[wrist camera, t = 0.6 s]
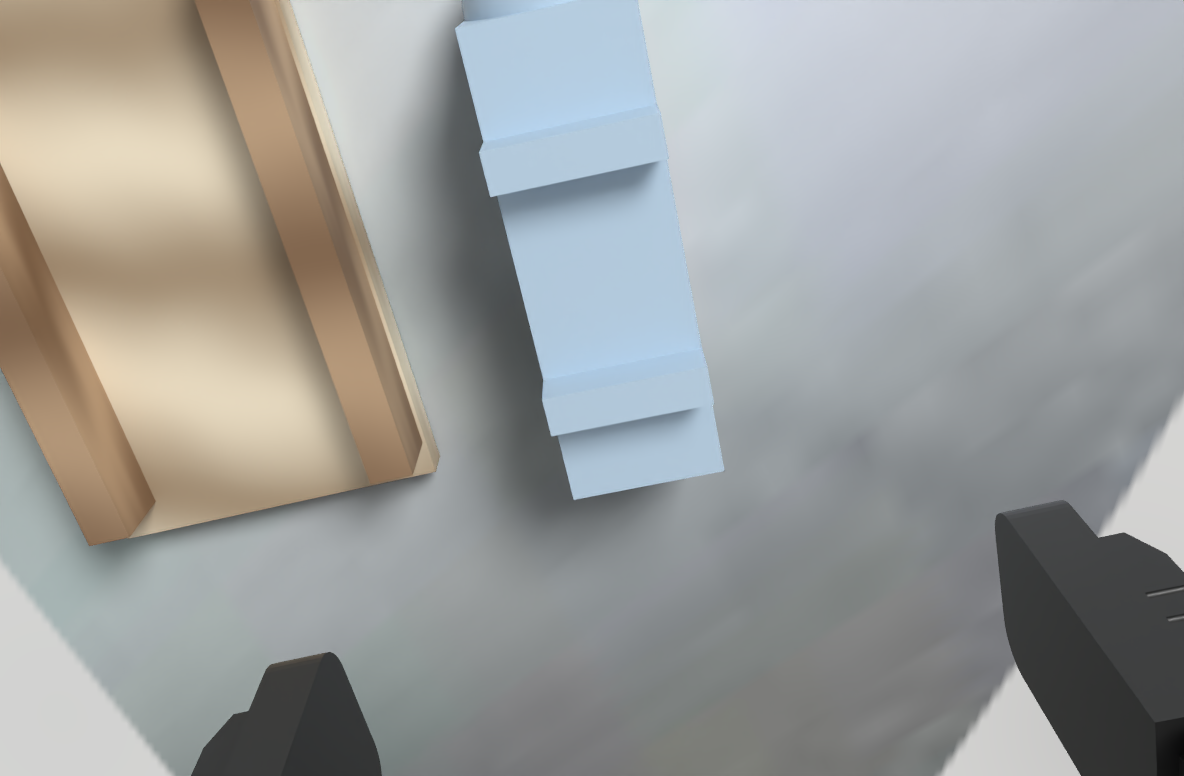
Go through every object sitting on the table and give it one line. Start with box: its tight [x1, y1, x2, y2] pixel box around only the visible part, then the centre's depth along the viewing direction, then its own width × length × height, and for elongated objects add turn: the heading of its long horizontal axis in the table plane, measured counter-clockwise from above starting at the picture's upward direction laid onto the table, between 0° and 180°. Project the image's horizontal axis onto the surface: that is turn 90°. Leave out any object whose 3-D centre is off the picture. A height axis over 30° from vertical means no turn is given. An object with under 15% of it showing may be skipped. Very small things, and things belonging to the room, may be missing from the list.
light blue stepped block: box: [455, 0, 724, 500], centre depth 26 cm, size 14×4×6 cm, turn 12°
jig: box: [0, 0, 440, 546], centre depth 28 cm, size 16×10×3 cm, turn 13°
